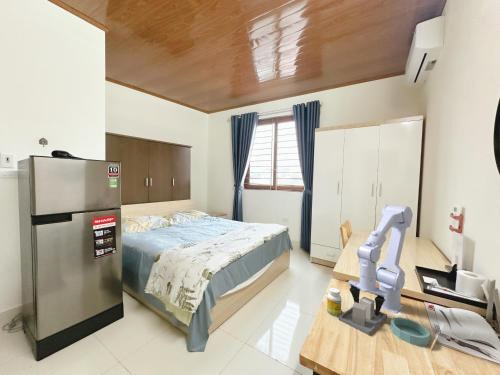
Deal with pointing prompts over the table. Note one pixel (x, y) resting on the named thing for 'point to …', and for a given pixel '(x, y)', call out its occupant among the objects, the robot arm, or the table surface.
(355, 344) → the table surface
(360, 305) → the light gray rectangular block
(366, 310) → the beige rectangular block
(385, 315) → the tray
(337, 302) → the supplement bottle
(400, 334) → the bowl
